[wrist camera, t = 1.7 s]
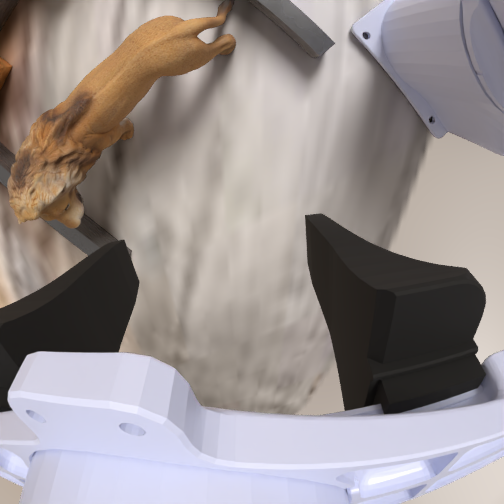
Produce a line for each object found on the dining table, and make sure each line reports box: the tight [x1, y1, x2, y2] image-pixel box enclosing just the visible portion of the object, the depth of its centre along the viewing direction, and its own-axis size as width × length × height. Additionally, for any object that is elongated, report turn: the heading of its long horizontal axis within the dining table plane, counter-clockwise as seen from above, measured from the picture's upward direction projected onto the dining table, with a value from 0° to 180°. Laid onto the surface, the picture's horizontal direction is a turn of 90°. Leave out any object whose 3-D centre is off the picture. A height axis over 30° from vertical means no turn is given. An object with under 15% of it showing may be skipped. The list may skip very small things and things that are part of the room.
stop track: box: [0, 0, 335, 256], centre depth 14 cm, size 21×20×4 cm
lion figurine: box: [7, 0, 236, 228], centre depth 13 cm, size 15×5×9 cm, turn 136°
